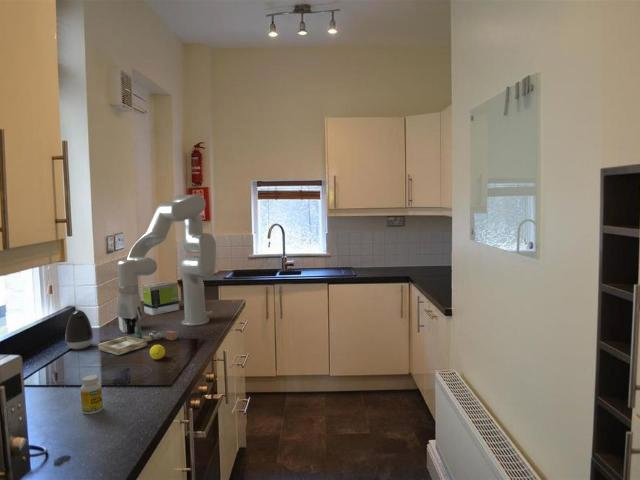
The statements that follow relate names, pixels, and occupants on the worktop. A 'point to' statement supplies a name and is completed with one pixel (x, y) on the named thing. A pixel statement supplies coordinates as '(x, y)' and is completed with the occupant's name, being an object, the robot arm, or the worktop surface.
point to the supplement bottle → (91, 395)
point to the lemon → (157, 352)
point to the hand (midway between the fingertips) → (131, 333)
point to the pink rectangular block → (171, 335)
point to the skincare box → (122, 325)
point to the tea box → (160, 298)
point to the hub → (155, 335)
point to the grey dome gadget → (78, 331)
